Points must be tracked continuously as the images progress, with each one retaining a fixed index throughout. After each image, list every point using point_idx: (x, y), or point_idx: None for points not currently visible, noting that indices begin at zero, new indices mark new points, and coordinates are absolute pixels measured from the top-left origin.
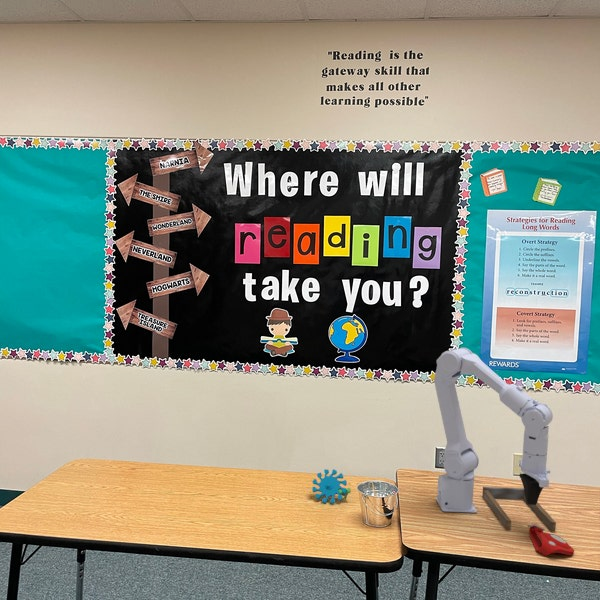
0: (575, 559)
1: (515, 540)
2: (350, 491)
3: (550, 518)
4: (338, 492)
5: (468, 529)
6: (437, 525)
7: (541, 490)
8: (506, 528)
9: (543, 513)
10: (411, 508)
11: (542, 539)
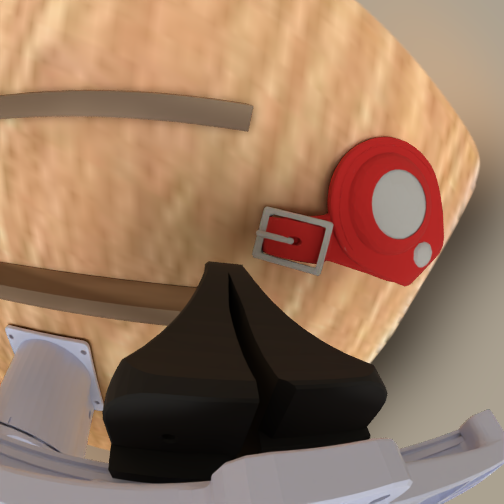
0: (441, 173)
1: (292, 303)
2: None
3: (202, 109)
4: None
5: None
6: None
7: (305, 331)
8: None
9: (136, 117)
10: (102, 440)
11: (405, 284)
